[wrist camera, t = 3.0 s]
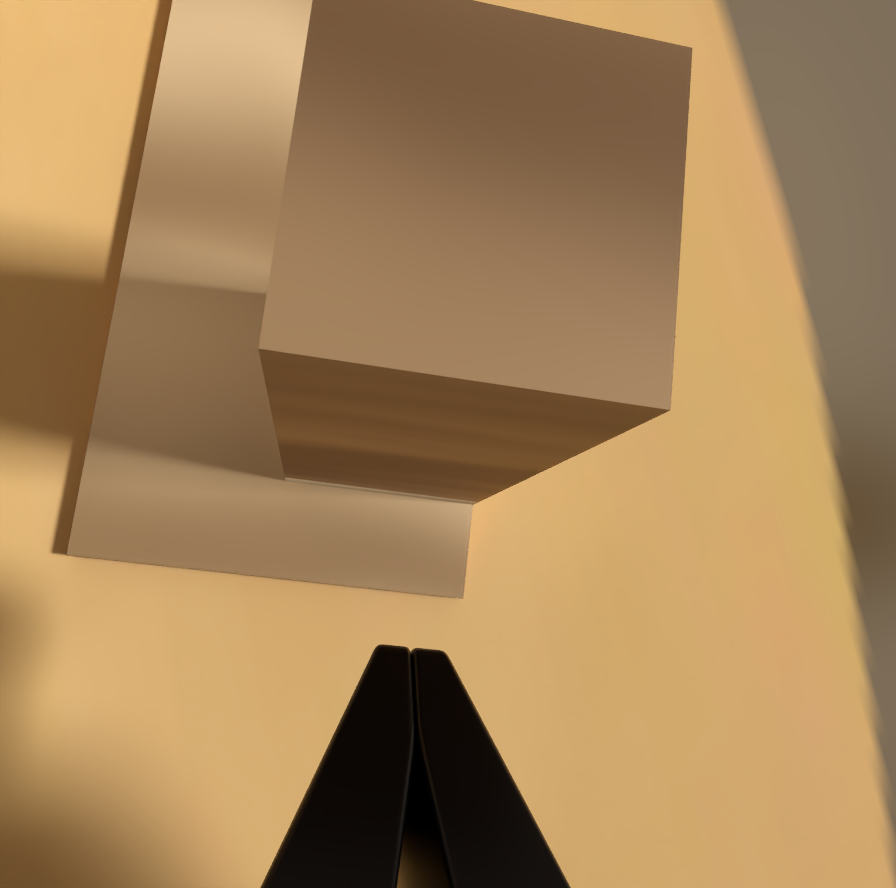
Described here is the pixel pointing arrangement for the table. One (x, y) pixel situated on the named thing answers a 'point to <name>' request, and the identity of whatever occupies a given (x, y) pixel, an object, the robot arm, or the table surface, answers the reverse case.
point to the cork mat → (227, 344)
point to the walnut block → (472, 246)
